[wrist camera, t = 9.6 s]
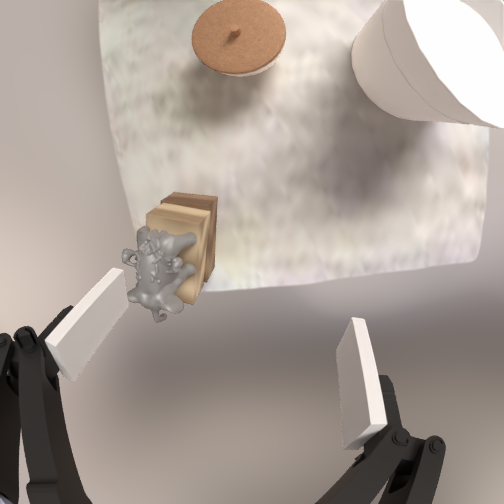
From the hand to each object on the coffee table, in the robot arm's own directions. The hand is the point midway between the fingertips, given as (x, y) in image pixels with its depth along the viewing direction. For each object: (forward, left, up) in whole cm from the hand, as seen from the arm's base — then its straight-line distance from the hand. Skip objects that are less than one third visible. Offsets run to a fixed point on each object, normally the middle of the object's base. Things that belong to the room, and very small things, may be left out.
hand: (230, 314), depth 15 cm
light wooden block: (+8, -11, -22) cm, 26 cm away
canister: (-23, +16, -27) cm, 39 cm away
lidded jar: (-21, -6, -27) cm, 35 cm away
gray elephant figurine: (+8, -10, -17) cm, 22 cm away
